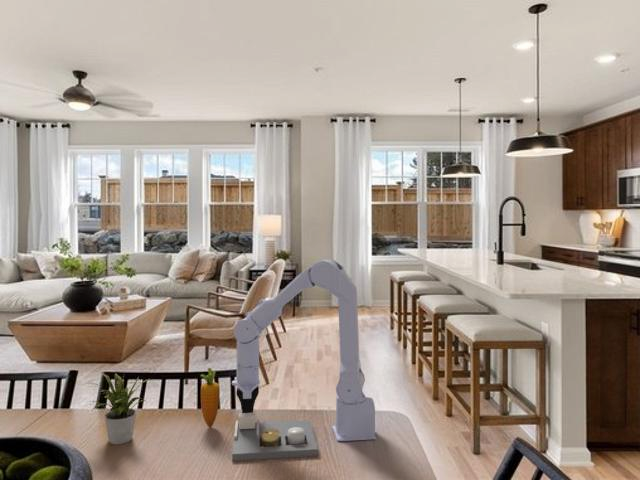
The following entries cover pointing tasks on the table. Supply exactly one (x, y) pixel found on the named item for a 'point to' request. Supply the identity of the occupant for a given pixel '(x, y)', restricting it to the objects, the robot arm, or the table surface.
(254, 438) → the control panel
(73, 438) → the table surface
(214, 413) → the carrot
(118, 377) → the house plant
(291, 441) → the white button
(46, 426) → the table surface
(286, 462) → the table surface
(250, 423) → the white block
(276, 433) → the brass button
